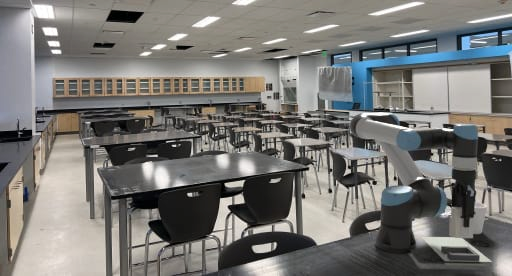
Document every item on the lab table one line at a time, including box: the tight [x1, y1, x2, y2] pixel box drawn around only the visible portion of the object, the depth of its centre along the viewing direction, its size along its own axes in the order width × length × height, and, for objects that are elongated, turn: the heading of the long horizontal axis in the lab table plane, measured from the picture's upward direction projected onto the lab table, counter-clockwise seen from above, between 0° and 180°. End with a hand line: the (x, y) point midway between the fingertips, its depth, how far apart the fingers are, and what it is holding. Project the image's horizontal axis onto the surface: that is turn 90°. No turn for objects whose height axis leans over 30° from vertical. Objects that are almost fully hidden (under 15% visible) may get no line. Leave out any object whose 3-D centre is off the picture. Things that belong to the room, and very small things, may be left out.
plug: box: [448, 206, 476, 239], centre depth 134 cm, size 8×4×10 cm, turn 86°
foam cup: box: [473, 201, 488, 235], centre depth 160 cm, size 10×9×13 cm
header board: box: [421, 236, 493, 267], centre depth 143 cm, size 16×23×4 cm
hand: (461, 233), depth 135 cm, fingers closed on plug, 4 cm apart
